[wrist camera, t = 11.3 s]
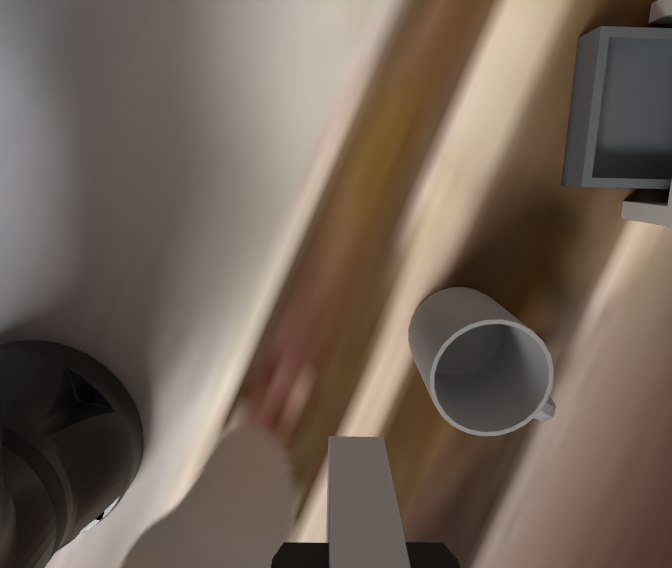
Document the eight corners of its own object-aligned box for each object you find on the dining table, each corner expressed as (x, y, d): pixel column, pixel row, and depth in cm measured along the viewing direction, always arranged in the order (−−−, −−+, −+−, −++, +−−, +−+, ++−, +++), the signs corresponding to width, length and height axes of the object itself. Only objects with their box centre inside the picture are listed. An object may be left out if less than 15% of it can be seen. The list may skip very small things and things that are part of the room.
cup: (447, 265, 39) (482, 294, 30) (552, 341, 40) (615, 391, 31) (387, 343, 40) (404, 393, 31) (491, 415, 41) (535, 482, 32)
